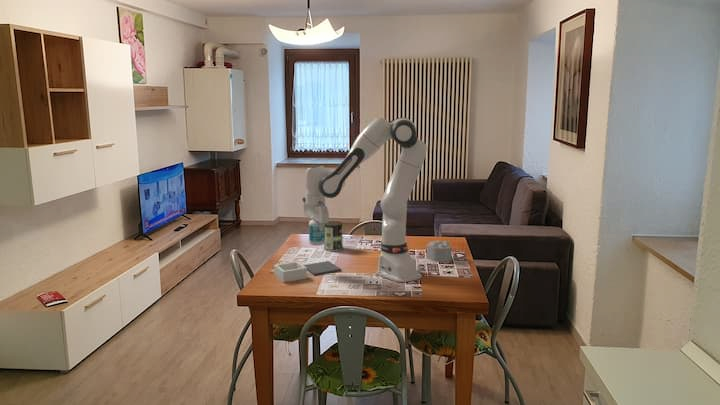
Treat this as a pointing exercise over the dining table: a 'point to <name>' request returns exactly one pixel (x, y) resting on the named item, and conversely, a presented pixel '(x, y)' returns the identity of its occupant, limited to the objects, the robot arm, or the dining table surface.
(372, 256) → the dining table surface
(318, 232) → the pill bottle
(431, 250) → the grey bumpy block
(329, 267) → the mat
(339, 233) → the coffee can
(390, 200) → the robot arm
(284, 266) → the holder
